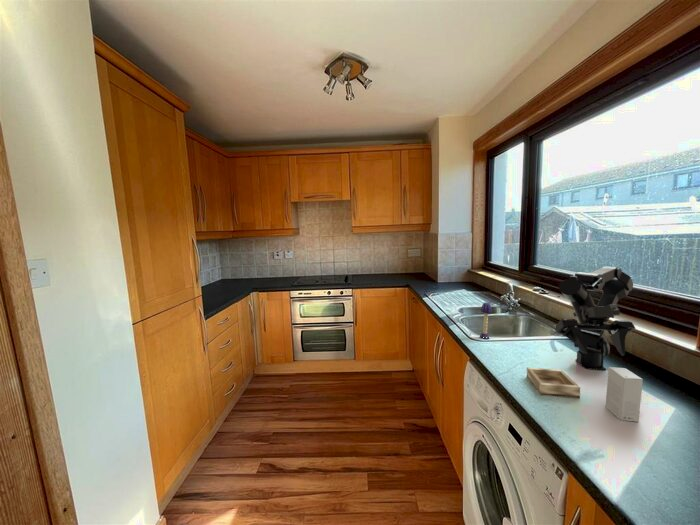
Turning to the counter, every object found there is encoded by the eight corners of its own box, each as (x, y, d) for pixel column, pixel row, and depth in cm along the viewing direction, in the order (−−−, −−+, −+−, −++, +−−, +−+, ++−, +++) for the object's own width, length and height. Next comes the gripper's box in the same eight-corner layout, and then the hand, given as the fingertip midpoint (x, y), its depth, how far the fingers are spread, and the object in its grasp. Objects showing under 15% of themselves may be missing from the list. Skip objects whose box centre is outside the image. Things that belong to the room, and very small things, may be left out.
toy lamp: (490, 336, 129) (491, 302, 127) (491, 340, 125) (492, 304, 123) (479, 335, 131) (480, 301, 129) (479, 338, 127) (480, 304, 125)
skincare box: (639, 422, 71) (644, 379, 70) (620, 420, 72) (624, 378, 71) (621, 407, 77) (625, 367, 76) (604, 406, 78) (607, 366, 77)
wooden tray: (561, 379, 92) (561, 369, 91) (579, 398, 82) (580, 387, 81) (526, 377, 94) (527, 367, 94) (540, 395, 84) (541, 384, 84)
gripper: (562, 294, 86) (581, 342, 77) (633, 294, 82) (662, 345, 72) (548, 310, 94) (564, 355, 85) (612, 312, 90) (636, 359, 81)
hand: (604, 354), depth 81 cm, fingers open, 9 cm apart
